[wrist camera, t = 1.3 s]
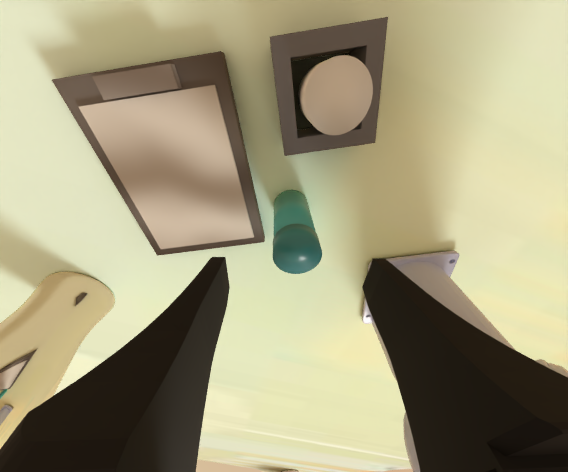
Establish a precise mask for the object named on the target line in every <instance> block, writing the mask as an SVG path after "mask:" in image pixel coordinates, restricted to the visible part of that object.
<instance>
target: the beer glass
mask: <svg viewBox="0 0 568 472" xmlns="http://www.w3.org/2000/svg"><path fill="white" fill-rule="evenodd" d="M114 304H115V298H114V295H113V293H112V292H111V291H110V289H109V288H108V287H106V286H105V285H104V284H103V283H101V282H99V281H98V280H96V279H94V278H92V277H89V276H86V275H83V274H80V273H75V272H57V273H53V274H51V275H49V276H47V277H46V278H45V279H44V280H43V281H42V282H41V283H40V284H39V285H38V287H37V288H36V289H35V290H34V292H33V293H32V294H31V296H30V297H29V298H28V299H27V300H26V301H25V302H24V304H22V305H21V306H20V307H19V308H18V309H17V310H16V311H15V312H14V313H12V314H11V315H10V316H9V317H7V318H6V319H5V320H4V321H2V322H1V323H0V449H1V447H2V446H3V445H4V443H5V442H6V441H7V439H8V438H9V437H10V435H11V434H12V433H13V431H14V430H15V428H16V427H17V426H18V425H19V423H20V422H21V421H22V419H23V418H24V417H25V416H26V414H27V413H28V412H29V411H31V410H32V409H34V408H36V407H37V406H39V405H40V404H42V403H43V402H45V401H46V400H48V399H49V398H51V397H53V396H54V394H55V392H56V390H57V388H58V386H59V384H60V382H61V380H62V378H63V376H64V374H65V372H66V371H67V369H68V367H69V365H70V363H71V361H72V359H73V357H74V355H75V353H76V352H77V350H78V348H79V346H80V345H81V343H82V342H83V340H84V339H85V337H86V336H87V335H88V333H89V332H90V331H91V330H92V329H93V328H94V326H95V325H96V324H97V323H98V322H99V321H100V320H101V319H102V318H103V317H104V316H106V315H107V314H108V313H109V312H110V311H111V309H112V308H113V307H114Z"/></svg>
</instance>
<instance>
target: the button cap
mask: <svg viewBox="0 0 568 472" xmlns="http://www.w3.org/2000/svg"><path fill="white" fill-rule="evenodd" d="M372 95H373V84H372V78H371V75H370V73H369V71H368V69H367V68H366V66H365V65H364V64H363V63H362V62H361V61H360V60H358V59H357V58H355V57H352V56H348V55H340V56H335V57H332V58H330V59H328V60H325V61H323V62H321V63H318V64H316V65H315V66H313V67H312V68H310V69H309V70H308V71H307V73H306V74H305V75H304V77H303V79H302V81H301V83H300V86H299V91H298V102H299V106H300V109H301V111H302V113H303V115H304V116H305V117H306V118H307V119H308V120H309V122H310V123H311V124H312V125H313V126H314V127H315V128H316V129H317V130H319V131H320V132H322V133H324V134H327V135H341V134H344V133H347V132H349V131H351V130H352V129H354V128H355V127H356V126H357V125H358V124H359V123H360V122H361V121H362V120H363V118H364V117H365V115H366V114H367V112H368V110H369V107H370V105H371V101H372Z"/></svg>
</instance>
